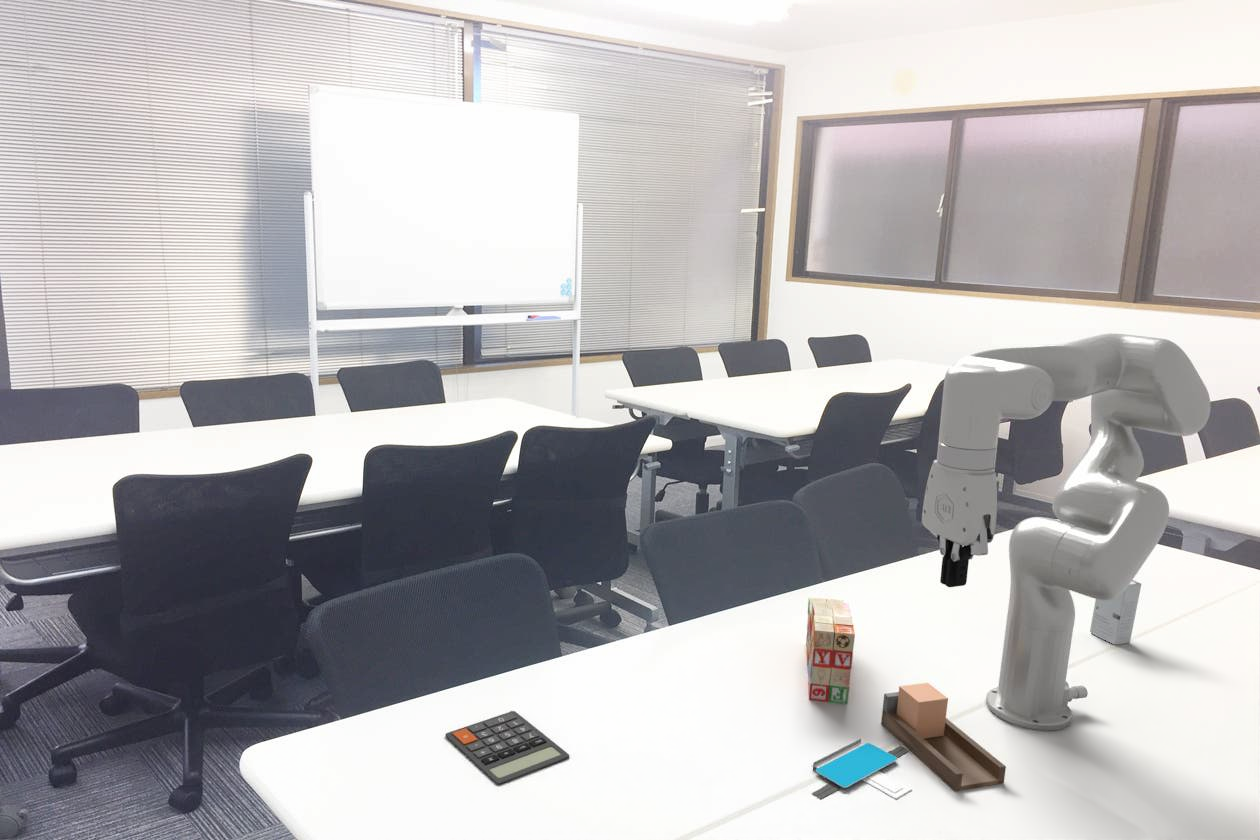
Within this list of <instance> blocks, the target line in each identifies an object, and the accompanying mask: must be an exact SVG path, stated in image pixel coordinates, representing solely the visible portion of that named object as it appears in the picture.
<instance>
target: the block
mask: <svg viewBox="0 0 1260 840" xmlns="http://www.w3.org/2000/svg"><path fill="white" fill-rule="evenodd" d="M898 692H899V694H898V704H897V714H896V715H897V716H898V717H899V718H900V719H901V720H902V721H904V722H905V723H906V724H907V725H908V726H909V727H910V728H912V729H913V730H914V731H915V732H916V733H917V734H918V735H920V736H921V737H922V738H923V739H924V738H931V737H938V736H944V729H945V721H946V718H947V711H948V703H949V702H948V701H949V698H948V697H947V696H945V695H944V694H943V692H941V691H939V690H938V689H937V688H935V687H934V686H933V685H931V684H930V683H929V682H923V683H915V684H907V685H899V686H898Z"/></svg>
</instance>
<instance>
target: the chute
mask: <svg viewBox="0 0 1260 840" xmlns="http://www.w3.org/2000/svg"><path fill="white" fill-rule="evenodd" d="M898 694H899V691H897V692H889V693H883V701H882V711H881V712H882V714H881V721H880V724H881V725H882V727H884V728H885V729H886V730H887V731H888V733H891V734H892V735H893V736H894V737H895V738H896V739H897V740H898V741H899V742H900V743H901V744H902V745H903V746H905V748H906V749H907V750H909V751H910V752H911V753H912V754H914V756H915V757H917V758H918V759H919V760H920V762H922V763H923V764H924V765H925V766H926V767H927V768H929V769H930V770H931V771H932V772H933V773H934V774H935V775H936V776H937V777H938V778H939V779H940V780H942V781H943V782H944V783H945V784H946V785H947V786H948V787H949V788H951V790H953V791H954V792H958V791H963V790H969V789H975V788H981V787H987V786H994V785H999V784H1004V783H1005V776H1006V769H1007V766H1006V765H1005V764H1004V763H1002V762H1001V761H1000V760H999V759H998V758H996V757H995V756H993V754H991V753H990V752H989V751H988V750H987V749H985V748H984V747H983V746H982V745H980V744H979V743H978V742H976V741H975V740H974V739H973V738H972V737H970V735H968V734H966V733H965V732H964V731H963V730H962V729H961V728H959V727H958V726H957V725H955V724H954V723H953V722H952V721H950V720H949V719H948V718H947V717H946V721H945V729H944V736H938V737H931V738H924V739H923V738H922V737H921V736H920V735H918V734H917V733H916V732H915V731H914V730H913V729H912V728H910V727H909V726H908V725H907V724H906V723H905V722H904V721H902V720H901V719H900V718H899V717H898V716H897V715H896V714H897V704H898Z"/></svg>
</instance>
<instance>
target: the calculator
mask: <svg viewBox="0 0 1260 840" xmlns="http://www.w3.org/2000/svg"><path fill="white" fill-rule="evenodd" d="M445 738H446V739H447V740H448V741H449V742H450V743H451V744H453V745H454V747H456V748H457V749H458V750H459V752H461V753H462V754H463V755H464V756H465V755H466V756H467V757H466V758H468V760H469V761H470V762H472V763H473V764H474V765H475V766H476V767H477V768H478V769H479V770H480V771H481V772H482V771H483V774H484V775H485V776H486V777H487V778H489V779H490V780H491V781H492V782H493V783H494V784H495V785H497V786H501V785H504V784H506V783H509V782H512V781H514V780H517V779H519V778H521V777H524V776H527V775H531V774H532V773H535V772H537V771H540V770H543V769H545V768H547V767H551V766H553V765H555V764H558V763H561V762H563V761H566V760H569V759H570V754H569V753H568V752H567V751H565V750H564V749H563V748H562V747H560V746H559V745H558V744H557V743H555V742H554V741H553V740H551V738H549V737H548V736H546V734H544V733H543V732H542V731H540V730H539V729H538V728H537V727H536V726H535V725H533V724H532V723H530V722H529V721H528V720H527V719H525V718H524V717H523V716H521V715H520V714H519V713H518V712H516V711H514V710H513V711H508V712H506V713H502V714H498V715H496V716H494V717H491V718H488V719H484V720H482V721H479V722H475V723H473V724H469V725H466V726H463V727H460V728H457V729H455V730H451V731H449V732H446V733H445Z"/></svg>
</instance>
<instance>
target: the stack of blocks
mask: <svg viewBox="0 0 1260 840" xmlns="http://www.w3.org/2000/svg"><path fill="white" fill-rule="evenodd" d="M807 602H808V604H807V605H808V606H807V624H806V625H807V627H806V630H807V631H806V639H805V640H806V644H805V646H806V648H805V650H806V652H805V653H806V654H805V655H806V666H807V679H808V680H807V681H808V682H807V684H808V686H807V688H808V690H807V691H808V700H809V701H813V702H814V701H815V702H816V701H817V702H825V703H835V704H844V705H848V703H849V702H848V700H849V697H850V695H849V694H850V681H851V672H852V671H851V669H853V667H852V665H853V657H854V646H855V645H854V644H855V636H856V633H855V629H854V623H853V615H852V612H851V609H850V606H849V603H844V600H841V599H832V598H820V597H818V598H817V597H808V601H807Z"/></svg>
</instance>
